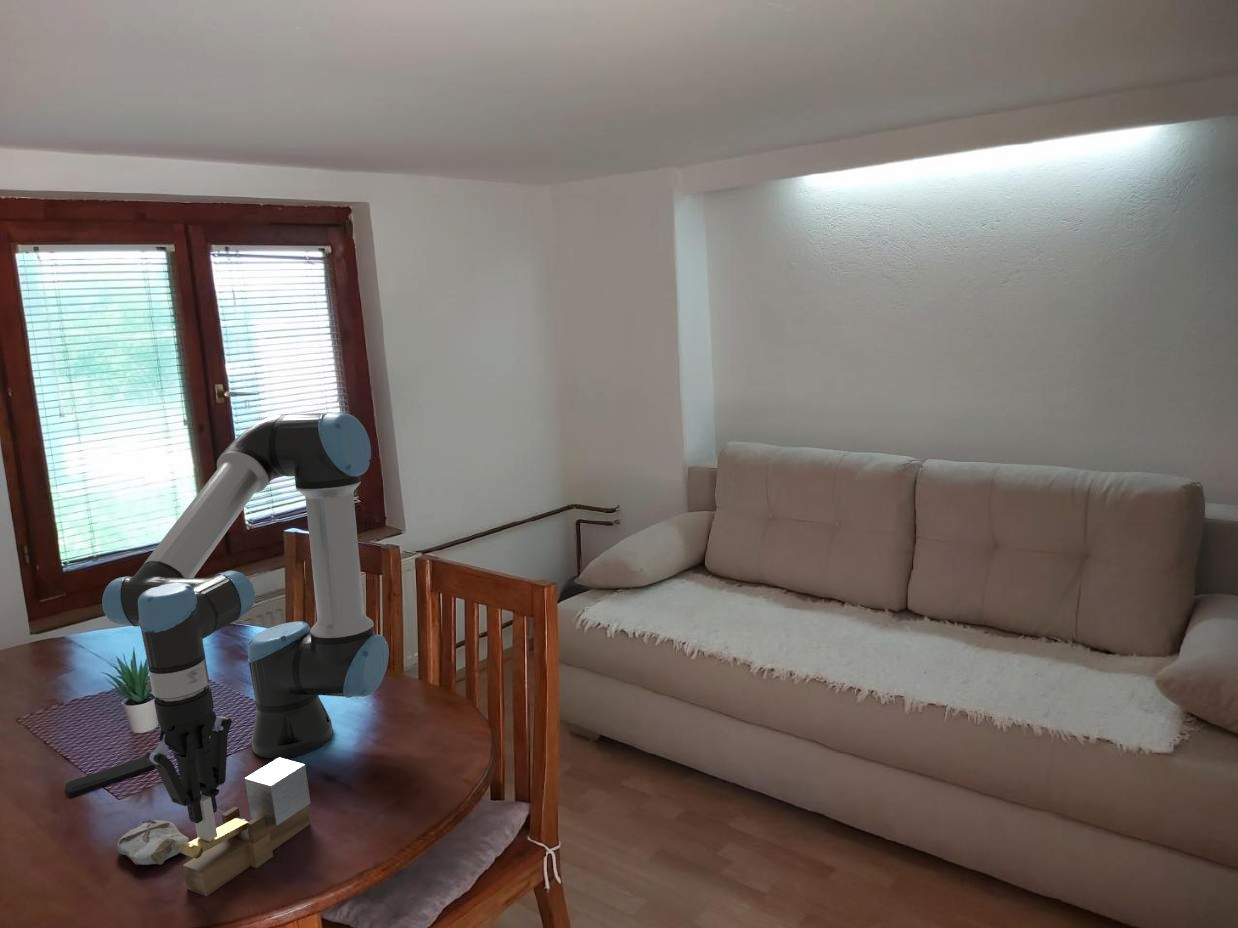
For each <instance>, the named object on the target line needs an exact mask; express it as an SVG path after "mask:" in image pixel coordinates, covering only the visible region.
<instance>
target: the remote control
mask: <svg viewBox="0 0 1238 928" xmlns="http://www.w3.org/2000/svg"><path fill="white" fill-rule="evenodd" d="M154 769H156V767H155V765H154V764H153V763H151V762H150V761H149V760H147V759H146V755H145V756H143V757H142V756H141V757H139V758H136V759H133V760H130V761H128V762H127V761H126V762H123V763H121V764H117V765H115V766H111V767H109V768H106V769H103V770H99V771H96V772H94V773H91V774H87V775H85V776H82V777H79V778H75V779H72V780H69V781H67V782H66V783H65V791H66V794H67V796H68V797H69V798H70V797H71V798H73V797H77V796H79V795H82V794H85V793H88V792H91V791H93V790H94V791H95V790H97V789H99V788H101V787H102V788H103V787H105V786H108V785H111V784H114V783H118V782H119V781H122V780H126V779H128V778H132V777H134V776H137V775H139V774H142V773H143V774H144V773H145V772H148V771H151V770H154Z"/></svg>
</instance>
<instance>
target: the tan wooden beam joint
mask: <svg viewBox="0 0 1238 928" xmlns="http://www.w3.org/2000/svg"><path fill="white" fill-rule="evenodd" d="M308 806H309V805H307V806H306V807H304V808H303V809H301V810H300V811H298V812H297V813H295V814H294V815H292V816H291V817H289V818H288V819H287V820H285V821H284V822H282V823H281V824H279V825H278V826H275V825H272V824H269V823H266V822H265V820H264V816H262V815H258V816H257V817H255V818H251V820H250V821H249V822H247V828H248V829H246V830H244V831H242V832H240V833H239V834H237V835H235V836H233V837H231V838H229V839H227V840H226V841H224V842H222V843H220V844H218V845H216V846H214V847H213V848H211V849H209V850H207V851H205V852H203V853H202V855H201V856H200V857H199V858H197V859H196V858H193V857H192V858H191V859H190V860H189V861H187V862H185V863H184V864H182V868H183V872H184V874H183V875H184V877H185V885H186V890H189V891H191V892H193V893H196V894H199V895H201V896H204V897H206V898H207V897H208V896H210V895H211V894H213V893H214V892H215V891H217V890H218V889H220V888H222V887H223V886H224V885H225V884H227V883H228V882H230V881H231V880H233V879H234V878H236V877H237V876H238V875H240V874H241V873H242V872H244V871H246V870H247V869H248V868H249V867H253V868H255V869H257V868H260V866H262V865H263V864H265V863H267V862H268V861H269V860H271V858H273V857H274V850H276V849H277V848H278V847H280V846H281V845H282V844H284V843H285V842H288V840H290V839H291V838H293V837H294V836H295V835H297V834H298V833H299V832H301V831H302V830H304V829H305V828H307V827H308V826H310V825H311V819H310V813H309V807H308ZM240 814H241V812H240V808H239V807H238V806H233V807H231V808H230V809H228V810H227V811H225V812H223V813H222V814H221V819H222V825H223V824H225V823H227V822H229V821H231V820H233V818H234V817H235V816H238V817H241V815H240Z"/></svg>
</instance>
